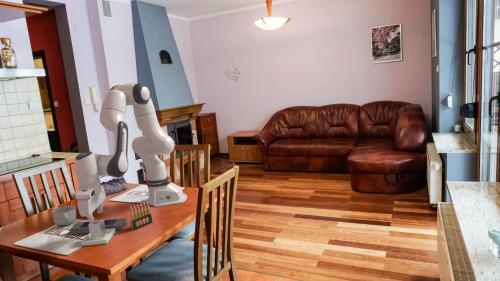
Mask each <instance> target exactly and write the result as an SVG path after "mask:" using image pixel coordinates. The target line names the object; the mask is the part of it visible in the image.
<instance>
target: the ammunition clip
mask: <svg viewBox="0 0 500 281" xmlns="http://www.w3.org/2000/svg"><path fill="white" fill-rule="evenodd" d="M129 213H130V214H129V216H130V227H131V230H130V231H137V230H139V229H141V228H143V227H146V226H148V225H151V224H153V216H152V213H151V208H150V206H149V204H148V200H145V201H142V203H141V202H139V204H138V203H137V204H136V206H135V204H133V207H132V206H131V205H130V207H129Z"/></svg>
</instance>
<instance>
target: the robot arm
mask: <svg viewBox="0 0 500 281" xmlns="http://www.w3.org/2000/svg"><path fill="white" fill-rule="evenodd" d="M105 94H106V95H105V97H104V98H103V101H102V105H101V108H100V112H99V122H100V124H101V126H102V127H104V129H106V130H108V131H110V132H112V134H113V135H114V150H113V154H98V153H94V152H93V151H84V152H80V153H79V154H77V155H76V156H75V159H74V169H75V174H76V177H77V179H78V182H77V183H78V184H77V185H78V189H77V191H76V192H75V195H74V197H75V200H77V204H76V205H77V208H78V212H79V215H80V216H81V217H86V218H87V219H88V221H89V222H93V221H94V220H95V217H94V216H93V213H94V212H95V210H97V214H102V212H103V205H104V204H103V202H105V200H106V196H107V195H105V191H104V188H103V186H101V183H102V182H101V178H100V177H113V178H116V179H117V178H122V177H123V176H124V175H125V174H126V173H127V171H128V169H129V159H128V148H129V146H128V145H129V126H128V124H127V122H126V120H125V119H126V111H127V106H128V107H129V106H132V109H133V114H134V117H135V122H136V125H137V128H138V129H139V130H140V131H141V132H143V133H144V134H145V135H141V136H137V137H135V138H134V139H133V140H132V141H131V142H132V143H131V149H132V151H133V153H135V154H136V155H137V156H138V157H139V158H140V160H141V161H142V163H143V164H144V167H145V171H146V178H147V179H146V186H147V190H148V198H147V199H148V200H147V201H148V204H149V205H150V206H153V207H155V208H159V207H167V206H171V205H172V206H173V205H177V204H178V205H179V204H182V203H184V202H185V201H187V199H188V195H187V194H186V193H184V192H183V189H182V187H181V186H179V185H177V184H175V183H174V182H173V181H172V177H171V176H168V172H167V165H166V163H165V162H164V161H163V160H162V159H161V158H160V157H159V156H164V155H169V154H171V153H172V152H173V151H174V149H175V141H174V139H173V138H172V137H171V136H169V135H168V134H167V133H165V131H164V130H163V128H162V127H161V125H160V123H159V120H158V117H157V114H156V109H155V105H154V103H153V100H152V98H151V91H150V89H149V87H148V86H147V85H146V84H145V83H140V82H138V83H132V82H131V83H124V84H117V85H113V86H112V87H111V88H110V89H109V90H108V91H107V92H106V93H105Z"/></svg>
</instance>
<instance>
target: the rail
mask: <svg viewBox="0 0 500 281" xmlns="http://www.w3.org/2000/svg"><path fill="white" fill-rule="evenodd" d="M90 223H91V222H89V220H88V221H77V222H75V224H74V225H73V226H72V227H71V228H69V232H70V236H77V235H76V234H80V235H88V234H87V233H90V231H89V226H88V225H89V224H90ZM104 223H105V229H115V232H119V231H120V232H121V231H123V229H124V228H125V227H126V225H127V224H128V222H127V217H122V218H109V219H104Z"/></svg>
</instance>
